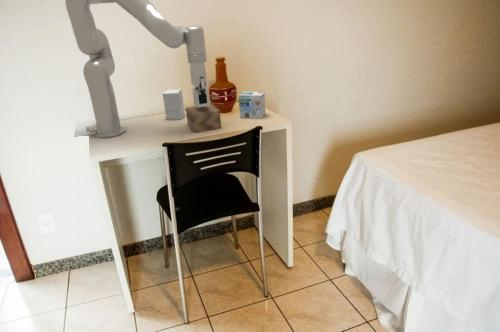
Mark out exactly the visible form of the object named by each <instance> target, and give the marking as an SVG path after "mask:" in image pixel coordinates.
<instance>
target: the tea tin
mask: <svg viewBox="0 0 500 332" xmlns="http://www.w3.org/2000/svg"><path fill="white" fill-rule="evenodd" d="M191 89H192V95H193V103H194V107H195V106H196V107H203V106H210V104H211V101H210V92H209V88H208V86H206V87H205V89H206V95H207V103H205V104H200V103H199V90H198V87H197V88H195V87H192V88H191ZM201 89H202V88H200V91H201Z"/></svg>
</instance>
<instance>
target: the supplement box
mask: <svg viewBox="0 0 500 332" xmlns="http://www.w3.org/2000/svg"><path fill="white" fill-rule="evenodd" d="M162 98H163V103H164V104H163V105H164V112H165V117H166V121H169V120H172V121H173V120H182V119H183V118H184V117H185V116H186V111H185V107H184V106H185V105H184V98H183V90H182V89H181V88H180V89H179V88H177V89H166V90H165V91H164V92H163V93H162Z"/></svg>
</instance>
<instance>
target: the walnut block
mask: <svg viewBox="0 0 500 332" xmlns="http://www.w3.org/2000/svg"><path fill="white" fill-rule="evenodd" d="M220 111H221V110H220V109H218V108H217V107H216V106H215V105H214V104H213V103H210V106H203V107H196V106H195V105H194V106H190V107H189V106H188V107H185V115H186V120H187V122H186V123H187V126H188V127H189V129H190V130H191V132H192V133H194V134H195V133H202V132H209V131H213V130H214V131H215V130H219V129H222V123H221V122H222V120H221V112H220Z"/></svg>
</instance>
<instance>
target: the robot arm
mask: <svg viewBox="0 0 500 332" xmlns="http://www.w3.org/2000/svg"><path fill="white" fill-rule="evenodd" d="M115 3H116V4H117V5H118V6H119V7H121V9H123V10H125V11H126V12H127V13H128V14H130V15H131V16H132V17H133V18H134V19H136V20H137V21H138V22H139V23H140V24H141V26H143V27H144V28H145V29H146V30H147V31H148V32H149V33H150V34H152V36H154V37H155V38H156V39H158V40H159V41H160V42H161V43H163V44H164V45H165V46H166V47H168V48H170V49H178V48H180V47H181V46H182V45H183V46H184V45H185V47H186V56H187V63H188V64H189V71H190V83H191V85H192V86H193V88H197V87H198V90H199V103H200V104H205V103H207V95H206V89H205V87H208V86H207V85H208V81H207V72H206V66H205V65H206V64H205V63H206V62H207V61H208V60H207V52H206V42H205V31H204V28H203V27H202V26H201V25H189V26H175V25H173V24H172V23H170V22H169V21H168V20H167V19H165V18H164V17H163V16H162V15H161V14H160V13H159V11H158V9H157V8H156V7H155V5H154V4H153V3H152V2H151V1H150V0H65V7H66V8H65V9H66V11H67V14H68V17H69V20H70V24H71V28H72V32H73V34H74V37H75V41H76V45H77V47H78V49H79V51H80V52H81V53H82V54H84V55H86V56H88V58H89V60H87V61H86V62H85V64H84V65H83V69H82V70H83V71H82V72H83V77H84V80H85V82H86V86H87V89H88V93H89V96H90V101H91V105H92V111H93V114H94V119H95V124H94V125H92V126H91V125H89V126H85V130H86V132H89V133H92V132H94V136H95V137H96V138H102V139H104V138H113V137H117V136H120V135H123V134H124V133H125V132H126V128H125V126H122V125H121V121H120V120H121V119H120V115H119V111H118V105H117V101H116V95H115V90H114V86H113V83H112V81H111V76H112V75H113V74H114V73H115V69H116V64H115V59H114V57H113V53H112V49H111V45H110V43H109V40H108V37H107V36H106V34H105V33H104V31H102V30H100V29H99V28H97V26H96V23H95V18H94V16H93V13H92V11H91V7H90V6H91V5H97V4H98V5H99V4H115ZM200 88H202V89H201V91H200Z"/></svg>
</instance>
